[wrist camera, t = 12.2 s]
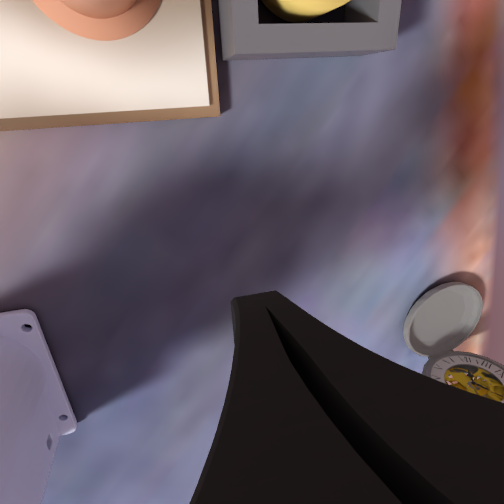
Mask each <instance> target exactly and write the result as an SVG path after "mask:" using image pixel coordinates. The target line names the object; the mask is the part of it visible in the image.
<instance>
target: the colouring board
mask: <svg viewBox="0 0 504 504" xmlns="http://www.w3.org/2000/svg"><path fill="white" fill-rule="evenodd" d="M217 116H220V106H219V93H218V81H217V68H216V56H215V44H214V31H213V19H212V6H211V0H137V1H136V2H135V3H134V5H133V6H132V7H131V8H130V9H129V10H127V11H126V12H124V13H123V14H121V15H119V16H116V17H113V18H107V19H97V18H91V17H87V16H84V15H82V14H79V13H77V12H75V11H74V10H72V9H70V8H69V7H67V6H66V5H65V4H63V3H62V2H61V1H60V0H0V131H10V130H25V129H40V128H54V127H69V126H84V125H99V124H114V123H128V122H143V121H158V120H173V119H187V118H202V117H217Z"/></svg>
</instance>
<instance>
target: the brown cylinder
mask: <svg viewBox="0 0 504 504" xmlns="http://www.w3.org/2000/svg"><path fill="white" fill-rule="evenodd" d="M60 1H61V2H62V3H63V4H65V5H66V6H67V7H69V8H70V9H72V10H74V11H75V12H77V13H79V14H82V15H84V16H87V17H91V18H97V19H107V18H113V17H116V16H119V15H121V14H123V13H124V12H126V11H127V10H129V9H130V8H131V7H132V6H133V5H134V3H135V2H136V1H137V0H60Z"/></svg>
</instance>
